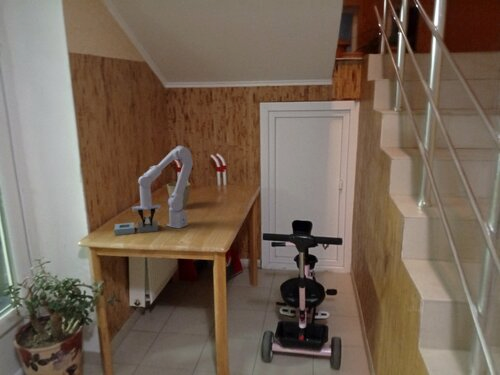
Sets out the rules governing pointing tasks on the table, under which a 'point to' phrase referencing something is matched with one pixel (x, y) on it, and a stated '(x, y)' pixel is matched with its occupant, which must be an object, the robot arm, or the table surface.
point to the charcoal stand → (147, 227)
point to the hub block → (124, 228)
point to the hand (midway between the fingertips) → (147, 222)
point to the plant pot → (185, 195)
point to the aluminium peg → (147, 220)
